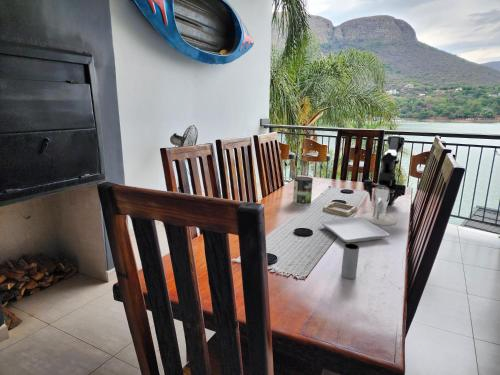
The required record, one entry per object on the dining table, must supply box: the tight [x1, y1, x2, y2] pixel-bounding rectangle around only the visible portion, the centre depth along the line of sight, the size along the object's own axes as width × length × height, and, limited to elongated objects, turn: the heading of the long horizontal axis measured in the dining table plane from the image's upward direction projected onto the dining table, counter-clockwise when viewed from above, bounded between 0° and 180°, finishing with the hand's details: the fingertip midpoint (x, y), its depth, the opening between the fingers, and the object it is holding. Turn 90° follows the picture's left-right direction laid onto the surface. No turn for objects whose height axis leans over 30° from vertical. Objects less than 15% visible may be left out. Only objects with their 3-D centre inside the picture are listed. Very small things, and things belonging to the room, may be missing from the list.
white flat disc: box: [361, 212, 398, 226], centre depth 152 cm, size 16×16×1 cm
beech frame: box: [322, 201, 358, 217], centre depth 164 cm, size 13×13×2 cm
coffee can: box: [292, 176, 314, 206], centre depth 175 cm, size 10×10×14 cm
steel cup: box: [372, 186, 390, 220], centre depth 150 cm, size 7×7×15 cm
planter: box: [340, 242, 360, 280], centre depth 99 cm, size 4×4×10 cm
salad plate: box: [320, 216, 391, 243], centre depth 134 cm, size 21×21×3 cm
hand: (380, 202), depth 149 cm, fingers open, 9 cm apart
